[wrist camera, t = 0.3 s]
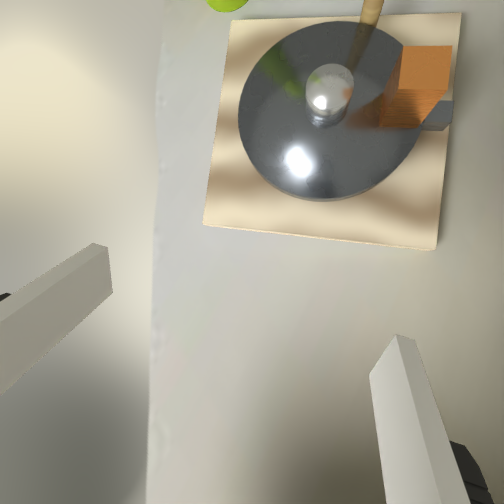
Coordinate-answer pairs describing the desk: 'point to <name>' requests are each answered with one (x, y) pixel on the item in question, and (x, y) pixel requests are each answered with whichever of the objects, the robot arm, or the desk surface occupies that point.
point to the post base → (347, 210)
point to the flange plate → (335, 146)
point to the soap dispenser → (226, 4)
